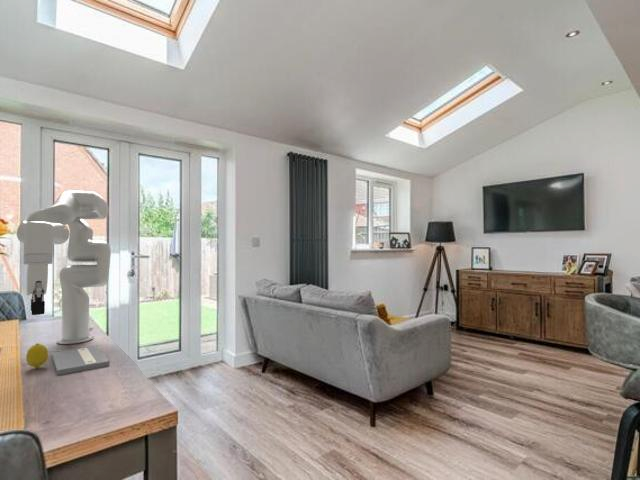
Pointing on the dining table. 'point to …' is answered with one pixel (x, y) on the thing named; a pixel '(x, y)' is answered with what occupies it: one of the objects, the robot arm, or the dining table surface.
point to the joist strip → (86, 356)
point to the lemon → (37, 355)
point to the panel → (77, 360)
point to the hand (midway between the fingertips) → (37, 312)
